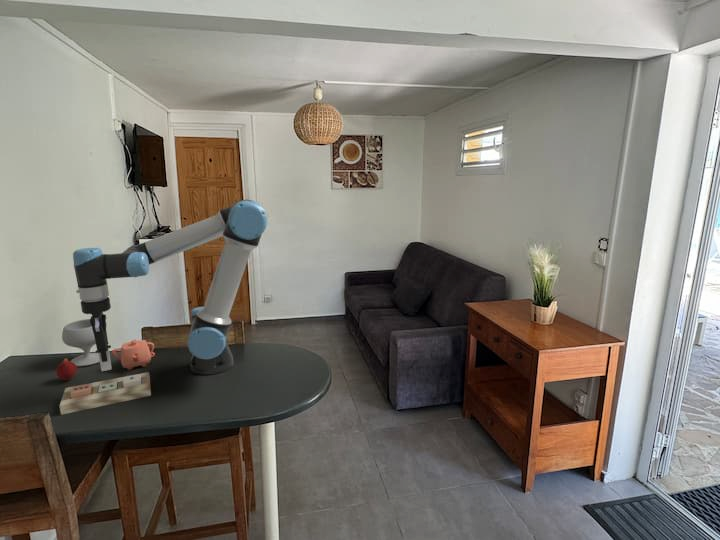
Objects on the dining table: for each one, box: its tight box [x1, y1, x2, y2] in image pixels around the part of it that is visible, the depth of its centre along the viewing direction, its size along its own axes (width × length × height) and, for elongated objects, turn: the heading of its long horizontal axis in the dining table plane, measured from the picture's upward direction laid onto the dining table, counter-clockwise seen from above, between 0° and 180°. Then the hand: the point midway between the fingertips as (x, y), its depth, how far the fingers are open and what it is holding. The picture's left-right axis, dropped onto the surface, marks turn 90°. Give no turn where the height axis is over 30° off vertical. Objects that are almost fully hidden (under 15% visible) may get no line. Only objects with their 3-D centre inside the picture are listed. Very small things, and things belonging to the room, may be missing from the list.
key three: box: [71, 382, 93, 399], centre depth 129 cm, size 5×5×3 cm
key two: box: [98, 382, 118, 393], centre depth 132 cm, size 5×5×3 cm
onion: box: [56, 357, 78, 381], centre depth 142 cm, size 6×6×8 cm
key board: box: [59, 371, 152, 416], centre depth 132 cm, size 24×12×3 cm, turn 118°
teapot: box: [111, 339, 156, 371], centre depth 154 cm, size 12×12×10 cm
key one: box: [122, 373, 142, 388], centre depth 135 cm, size 5×5×3 cm
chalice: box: [61, 318, 100, 367], centre depth 157 cm, size 14×14×15 cm
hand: (106, 369), depth 131 cm, fingers closed
